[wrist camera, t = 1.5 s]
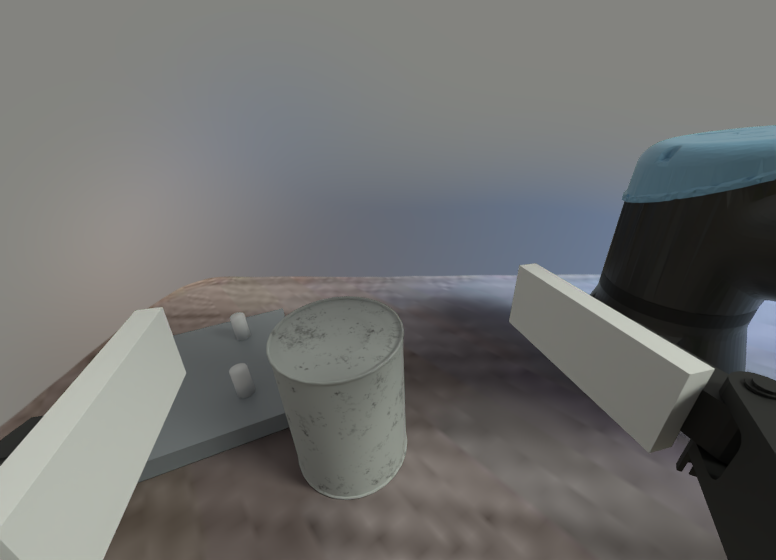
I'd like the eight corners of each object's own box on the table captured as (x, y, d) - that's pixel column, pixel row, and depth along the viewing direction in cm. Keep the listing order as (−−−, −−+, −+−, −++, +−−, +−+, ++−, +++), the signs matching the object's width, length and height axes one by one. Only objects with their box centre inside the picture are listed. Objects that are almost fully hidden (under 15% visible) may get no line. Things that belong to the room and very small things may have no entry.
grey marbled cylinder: (353, 384, 35) (340, 285, 29) (428, 433, 29) (430, 323, 23) (276, 450, 28) (238, 340, 22) (352, 529, 23) (329, 411, 17)
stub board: (285, 320, 46) (278, 289, 43) (310, 419, 31) (301, 381, 29) (117, 364, 39) (97, 331, 37) (48, 515, 25) (7, 477, 22)
